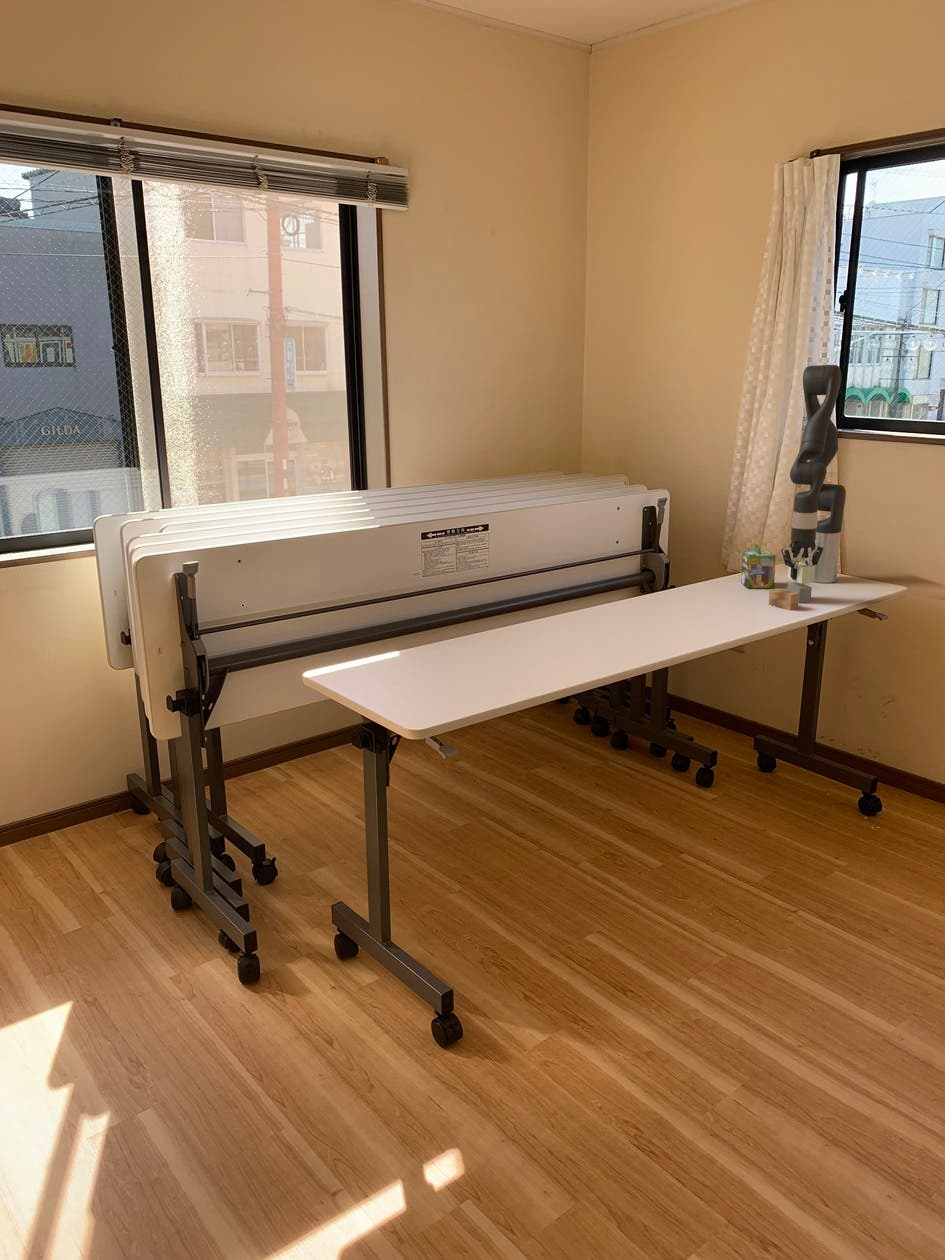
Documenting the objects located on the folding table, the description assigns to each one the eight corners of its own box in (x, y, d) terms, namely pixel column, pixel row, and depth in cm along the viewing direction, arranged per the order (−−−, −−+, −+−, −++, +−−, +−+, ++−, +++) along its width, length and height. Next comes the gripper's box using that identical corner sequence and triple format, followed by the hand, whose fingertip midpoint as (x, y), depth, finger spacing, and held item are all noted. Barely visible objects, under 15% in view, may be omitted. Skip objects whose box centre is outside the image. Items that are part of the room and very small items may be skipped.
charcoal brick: (786, 597, 319) (787, 582, 318) (798, 596, 320) (799, 581, 318) (798, 603, 311) (799, 588, 310) (810, 603, 312) (811, 587, 311)
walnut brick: (768, 605, 310) (769, 590, 308) (776, 603, 312) (777, 588, 311) (790, 610, 304) (791, 595, 302) (798, 608, 306) (799, 593, 305)
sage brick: (812, 582, 310) (814, 567, 309) (801, 583, 310) (802, 568, 308) (798, 577, 318) (800, 562, 316) (787, 578, 317) (789, 563, 316)
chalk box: (774, 588, 330) (777, 545, 326) (747, 589, 330) (749, 546, 326) (766, 582, 339) (769, 540, 335) (740, 582, 339) (742, 540, 335)
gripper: (817, 522, 314) (813, 574, 319) (777, 525, 311) (774, 577, 316) (831, 526, 307) (826, 579, 312) (790, 529, 304) (786, 583, 309)
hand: (800, 578), depth 314 cm, fingers closed on sage brick, 3 cm apart
